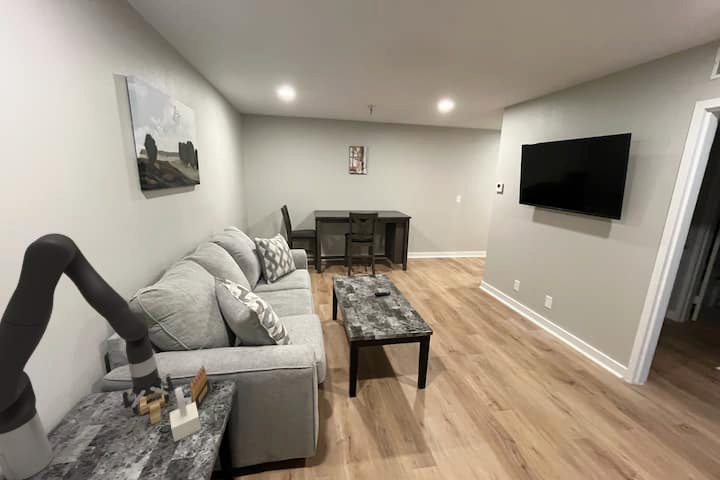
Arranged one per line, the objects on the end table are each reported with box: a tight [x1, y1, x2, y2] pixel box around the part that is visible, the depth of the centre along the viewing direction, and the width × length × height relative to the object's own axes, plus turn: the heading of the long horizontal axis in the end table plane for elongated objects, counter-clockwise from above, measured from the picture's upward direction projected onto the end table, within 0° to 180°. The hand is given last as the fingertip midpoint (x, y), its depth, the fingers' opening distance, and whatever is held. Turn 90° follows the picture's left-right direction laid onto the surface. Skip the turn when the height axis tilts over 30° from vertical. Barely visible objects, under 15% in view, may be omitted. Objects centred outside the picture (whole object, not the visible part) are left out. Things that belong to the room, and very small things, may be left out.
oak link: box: [139, 384, 171, 425], centre depth 113 cm, size 16×9×2 cm, turn 36°
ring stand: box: [169, 386, 202, 443], centre depth 103 cm, size 8×8×16 cm
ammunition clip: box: [189, 365, 211, 411], centre depth 115 cm, size 11×2×12 cm, turn 2°
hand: (152, 407), depth 107 cm, fingers open, 8 cm apart
